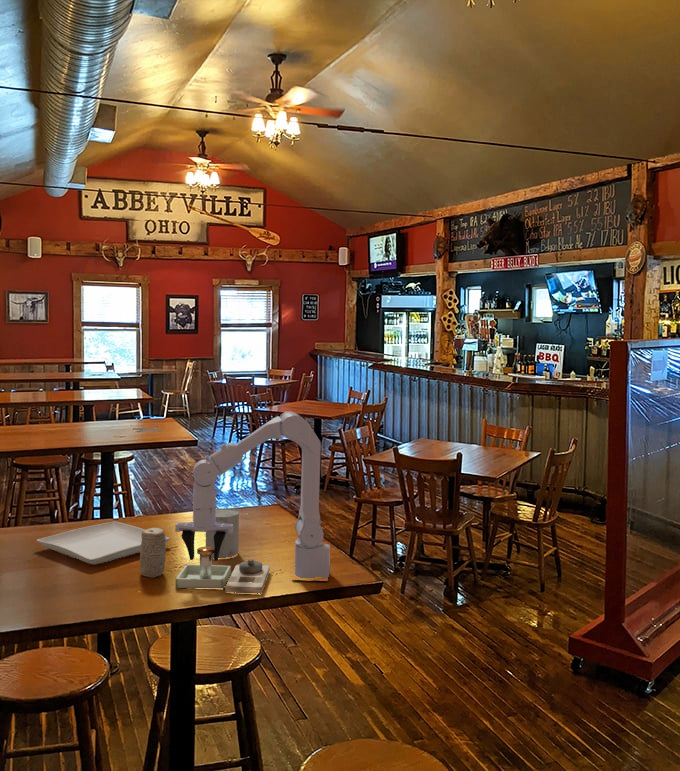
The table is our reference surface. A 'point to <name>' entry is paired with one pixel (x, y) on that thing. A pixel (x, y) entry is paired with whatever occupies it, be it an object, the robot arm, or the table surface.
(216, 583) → the tray
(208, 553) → the pin
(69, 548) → the square plate
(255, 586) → the white holder block
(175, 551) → the table surface
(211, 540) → the grey cylinder
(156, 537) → the carving
